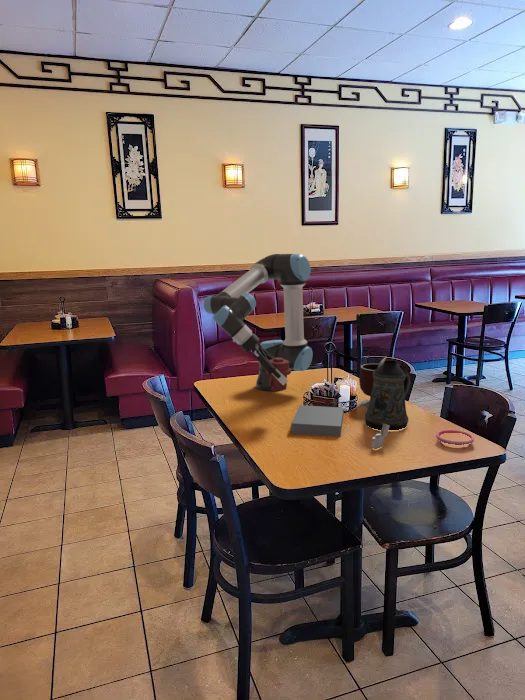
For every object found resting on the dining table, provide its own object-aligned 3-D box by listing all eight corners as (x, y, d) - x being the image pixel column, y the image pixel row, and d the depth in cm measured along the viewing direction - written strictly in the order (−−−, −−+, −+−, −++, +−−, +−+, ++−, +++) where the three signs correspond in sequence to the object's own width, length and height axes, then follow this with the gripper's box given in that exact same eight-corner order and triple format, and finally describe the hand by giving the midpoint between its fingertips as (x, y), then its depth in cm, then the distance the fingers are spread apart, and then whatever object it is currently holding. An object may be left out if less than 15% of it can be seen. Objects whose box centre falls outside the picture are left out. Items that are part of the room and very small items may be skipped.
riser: (299, 414, 212) (299, 405, 211) (343, 417, 209) (343, 407, 208) (291, 433, 191) (291, 423, 190) (340, 436, 188) (340, 426, 187)
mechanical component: (266, 384, 209) (291, 386, 208) (263, 391, 199) (289, 393, 198) (267, 355, 207) (292, 356, 205) (264, 360, 197) (290, 361, 196)
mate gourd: (381, 412, 214) (383, 365, 210) (352, 405, 223) (353, 361, 219) (398, 403, 226) (400, 359, 222) (370, 397, 234) (371, 354, 230)
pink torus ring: (428, 440, 184) (428, 432, 183) (455, 435, 189) (455, 427, 188) (453, 453, 173) (454, 444, 172) (481, 447, 177) (482, 438, 177)
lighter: (375, 451, 174) (376, 428, 173) (371, 449, 176) (372, 427, 174) (388, 446, 179) (389, 424, 177) (385, 444, 180) (385, 422, 178)
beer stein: (359, 428, 195) (361, 364, 190) (371, 413, 213) (373, 354, 208) (403, 435, 188) (407, 369, 183) (412, 419, 206) (416, 358, 201)
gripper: (242, 340, 212) (279, 378, 214) (236, 351, 190) (278, 393, 192) (255, 328, 211) (292, 366, 213) (250, 337, 189) (292, 380, 191)
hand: (285, 379), depth 203 cm, fingers closed on mechanical component, 10 cm apart
